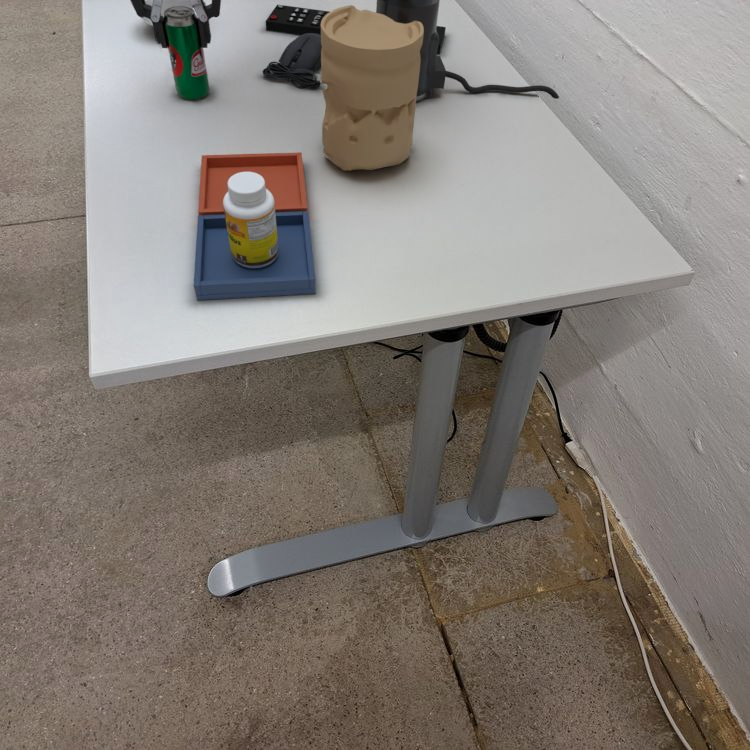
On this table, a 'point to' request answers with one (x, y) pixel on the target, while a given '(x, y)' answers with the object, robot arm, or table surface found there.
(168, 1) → the figurine
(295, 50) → the computer mouse
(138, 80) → the table surface
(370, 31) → the container
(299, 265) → the blue tray
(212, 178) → the terracotta tray
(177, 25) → the soda can
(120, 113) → the table surface
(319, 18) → the remote control
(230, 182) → the supplement bottle
